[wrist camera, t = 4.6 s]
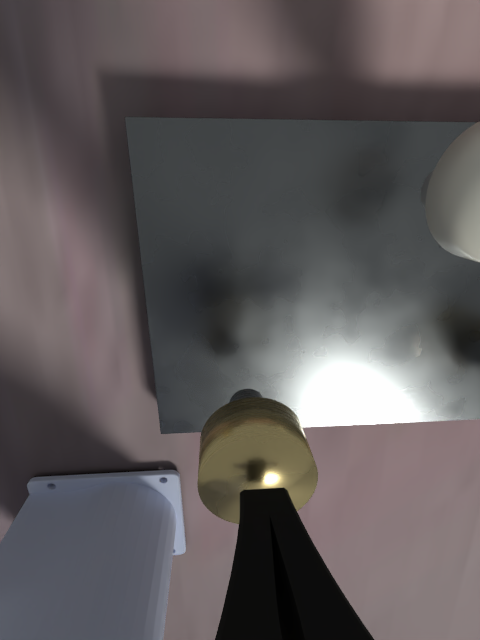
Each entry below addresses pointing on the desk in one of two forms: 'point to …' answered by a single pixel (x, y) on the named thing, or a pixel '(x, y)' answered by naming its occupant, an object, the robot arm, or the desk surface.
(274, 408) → the inner brass knob
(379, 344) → the plate
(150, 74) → the desk surface
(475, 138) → the middle white knob
